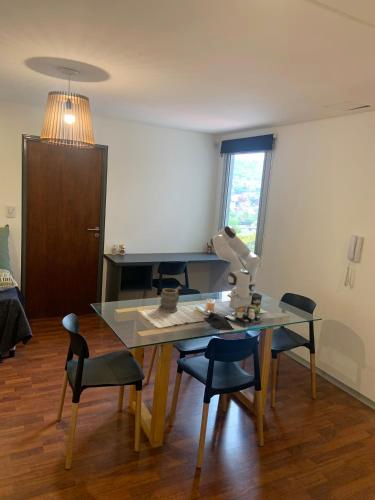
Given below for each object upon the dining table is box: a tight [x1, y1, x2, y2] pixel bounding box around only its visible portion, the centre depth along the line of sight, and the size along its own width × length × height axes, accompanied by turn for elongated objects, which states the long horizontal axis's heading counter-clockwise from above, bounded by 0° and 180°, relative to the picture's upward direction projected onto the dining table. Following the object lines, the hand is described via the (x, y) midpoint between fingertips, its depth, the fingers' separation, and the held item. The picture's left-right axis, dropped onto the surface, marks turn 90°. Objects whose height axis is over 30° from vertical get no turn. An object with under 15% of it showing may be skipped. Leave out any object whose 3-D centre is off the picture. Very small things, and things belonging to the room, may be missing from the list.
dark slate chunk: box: [204, 311, 235, 331], centre depth 241 cm, size 15×22×5 cm
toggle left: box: [237, 312, 243, 318], centre depth 245 cm, size 3×2×3 cm
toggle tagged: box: [249, 312, 255, 319], centre depth 246 cm, size 3×2×3 cm
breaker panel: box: [223, 311, 263, 328], centre depth 251 cm, size 17×20×4 cm
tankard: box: [158, 285, 182, 314], centre depth 260 cm, size 20×13×15 cm, turn 143°
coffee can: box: [245, 292, 263, 316], centre depth 268 cm, size 10×10×14 cm
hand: (239, 312), depth 254 cm, fingers closed on lockout cap, 4 cm apart
